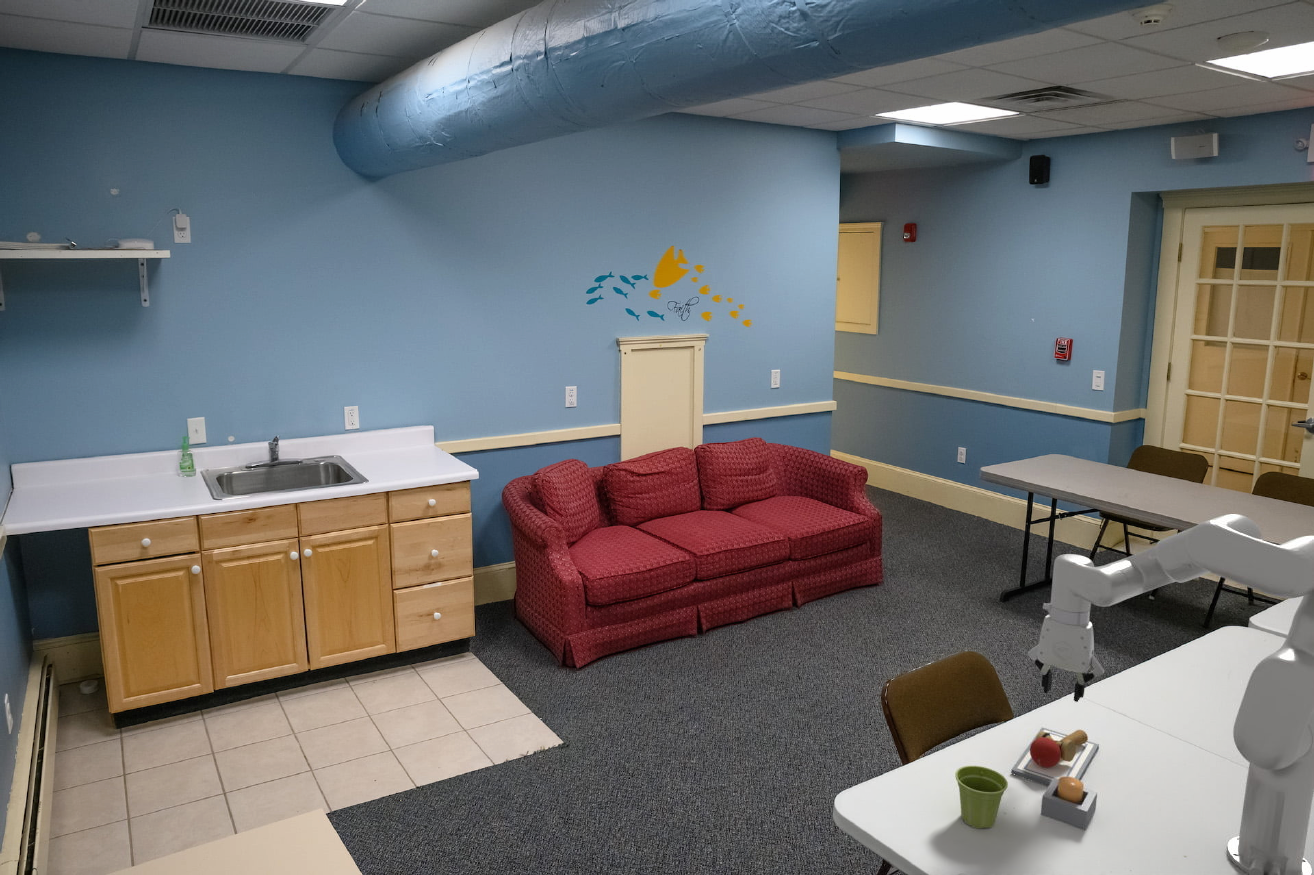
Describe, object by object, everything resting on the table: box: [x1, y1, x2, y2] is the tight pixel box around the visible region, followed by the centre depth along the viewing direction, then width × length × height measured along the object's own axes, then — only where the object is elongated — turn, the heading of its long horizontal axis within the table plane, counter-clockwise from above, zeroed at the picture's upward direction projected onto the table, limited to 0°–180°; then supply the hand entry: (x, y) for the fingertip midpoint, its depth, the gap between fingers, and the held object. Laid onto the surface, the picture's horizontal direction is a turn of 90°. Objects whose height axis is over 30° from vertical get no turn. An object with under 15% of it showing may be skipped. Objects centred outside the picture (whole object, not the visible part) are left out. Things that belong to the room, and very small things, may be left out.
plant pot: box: [955, 765, 1009, 829], centre depth 172 cm, size 9×9×9 cm
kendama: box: [1030, 729, 1089, 768], centre depth 193 cm, size 8×6×18 cm
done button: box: [1057, 776, 1085, 804], centre depth 174 cm, size 4×4×3 cm
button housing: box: [1040, 778, 1098, 831], centre depth 175 cm, size 8×8×4 cm
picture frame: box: [1010, 727, 1100, 787], centre depth 193 cm, size 22×12×1 cm, turn 142°
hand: (1062, 694), depth 190 cm, fingers open, 5 cm apart
